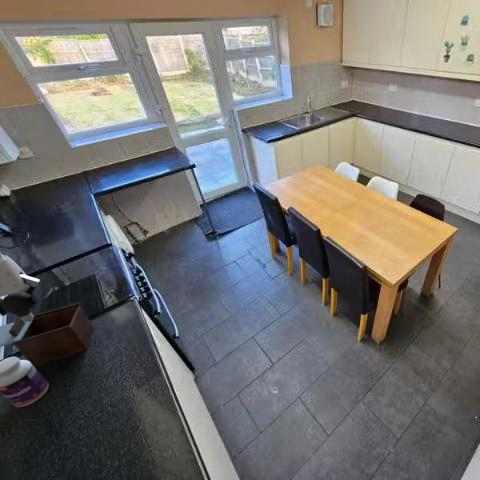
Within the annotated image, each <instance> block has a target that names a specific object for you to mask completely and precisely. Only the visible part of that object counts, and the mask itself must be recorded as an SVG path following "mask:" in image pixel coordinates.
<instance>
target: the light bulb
mask: <svg viewBox="0 0 480 480" xmlns="http://www.w3.org/2000/svg"><path fill="white" fill-rule="evenodd" d="M2 299H3V300H2V302H1V307H2V309H3V310H4V311H6V312H8V313H7V314H12V315H15V316H16V317H17V318H19V319H20V318H21V319H22V320H23V321H24V322H27V321H28V322H29V321H31V320H32V319H33V317H34V316H33V315H34V314H33V313H32V309H31V308H30V307H29V306H28V305H27V304H26V302H25V301H24V296H22V295H21V294H19V293H18V292H17V293H14V294H9V295H5V296H4V298H2Z"/></svg>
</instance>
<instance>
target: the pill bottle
mask: <svg viewBox="0 0 480 480" xmlns="http://www.w3.org/2000/svg"><path fill="white" fill-rule="evenodd" d="M49 386H50V384H49V382H48V380H47V379H46V378H45V377H44V375H42V373H40V372H39V370H38V368H37V367H34V366H33V364H32V363H31V362H30V361H29V360H28V359H20V358H19V357H17V356H10V357H7V358H4V359H2V360H0V394H1V395H2V396H3V397H4V398H6V400H8V402H9V403H10V404H11V405H13V406H14V407H16V408H22V407H23V408H24V407H27V406H29V405H30V406H31V404H34V403H36V402H37V401H38V400H40V399H41V398H42V397H43V396H44V395H45V394H46V393H47V391H48V389H49Z"/></svg>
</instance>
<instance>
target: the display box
mask: <svg viewBox="0 0 480 480" xmlns="http://www.w3.org/2000/svg"><path fill="white" fill-rule="evenodd" d="M33 316H34V317H33V318H34V319H33V321H32V322H31V324H30V326H29V327H28V329H27V331H26V332H25V334H24V336H23V338H22V339H21V340H19V341H15V342H12V344H11V345H12V346H15V347H16V348H17V349H18V350H19V351H20V353H22V355H23V356H24V357H25V358H26V360H27V361H29V362H30V363H31V364H32V365H33V366H34V367H35V368H38V367H41V366H43V365H46V364H49V363H53V362H55V361H58V360H59V361H60V360H61V359H64V358H68V357H70V356H74V355H77V354H79V353H82V352H86V351H88V350H89V346H90V344H91V340H92V338H93V337H92V336H93V333H94V331H95V327H94V325H93V323H92V322H91V320H90V318H89V317H88V316H87V314H86V313H85V311H84V310H83V308H82V306H81V303H80V302H76V303H72V304H69V305H66V306H62V307H59V308H55V309H50V310H48V311H44V312H40V313H36V314H33Z"/></svg>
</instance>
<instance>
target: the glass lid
mask: <svg viewBox="0 0 480 480" xmlns="http://www.w3.org/2000/svg"><path fill="white" fill-rule="evenodd" d="M33 319H34V318H33ZM33 319H32V320H31V321H29V322H28V321H27V322H24V321H23V320H22V319H21V318H20V317H19V318H17V319H16V320H15V321H14V322H11V323H7V324H3V325H0V348H2V347H5V346H8V345H12V342H15V341H19V340H21V339H22V338H23V336H24V334H25V332H26V331H27V329H28V327H29V326H30V324H31V322H32V321H33Z"/></svg>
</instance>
